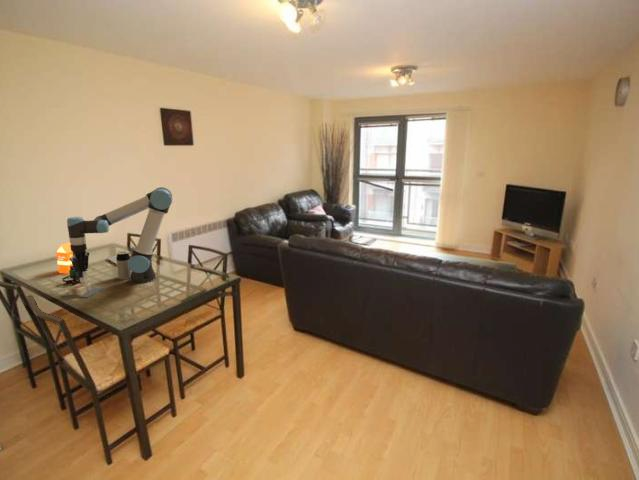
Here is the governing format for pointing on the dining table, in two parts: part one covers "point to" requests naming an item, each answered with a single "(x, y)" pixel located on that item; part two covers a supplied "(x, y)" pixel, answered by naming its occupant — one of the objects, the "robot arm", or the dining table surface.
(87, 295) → the mat
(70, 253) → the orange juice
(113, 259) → the tablet
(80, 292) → the wooden block
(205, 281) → the dining table surface
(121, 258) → the travel mug
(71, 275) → the binoculars
